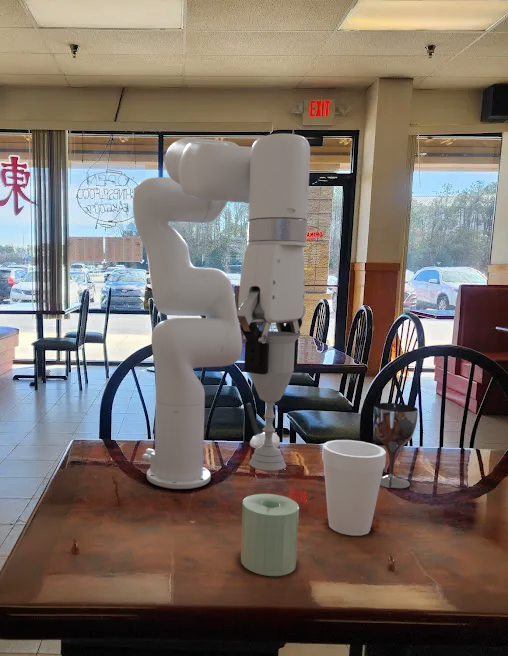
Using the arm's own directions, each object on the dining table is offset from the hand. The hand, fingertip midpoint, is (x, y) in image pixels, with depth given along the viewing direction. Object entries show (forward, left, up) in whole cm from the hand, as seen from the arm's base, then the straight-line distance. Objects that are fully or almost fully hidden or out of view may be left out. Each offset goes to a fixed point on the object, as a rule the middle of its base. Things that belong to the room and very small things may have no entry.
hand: (271, 368), depth 77 cm
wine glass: (+3, +45, -28) cm, 53 cm away
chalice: (0, 0, -13) cm, 13 cm away
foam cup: (+5, +19, -28) cm, 34 cm away
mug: (0, +1, -27) cm, 27 cm away
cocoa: (-22, +39, -28) cm, 53 cm away
